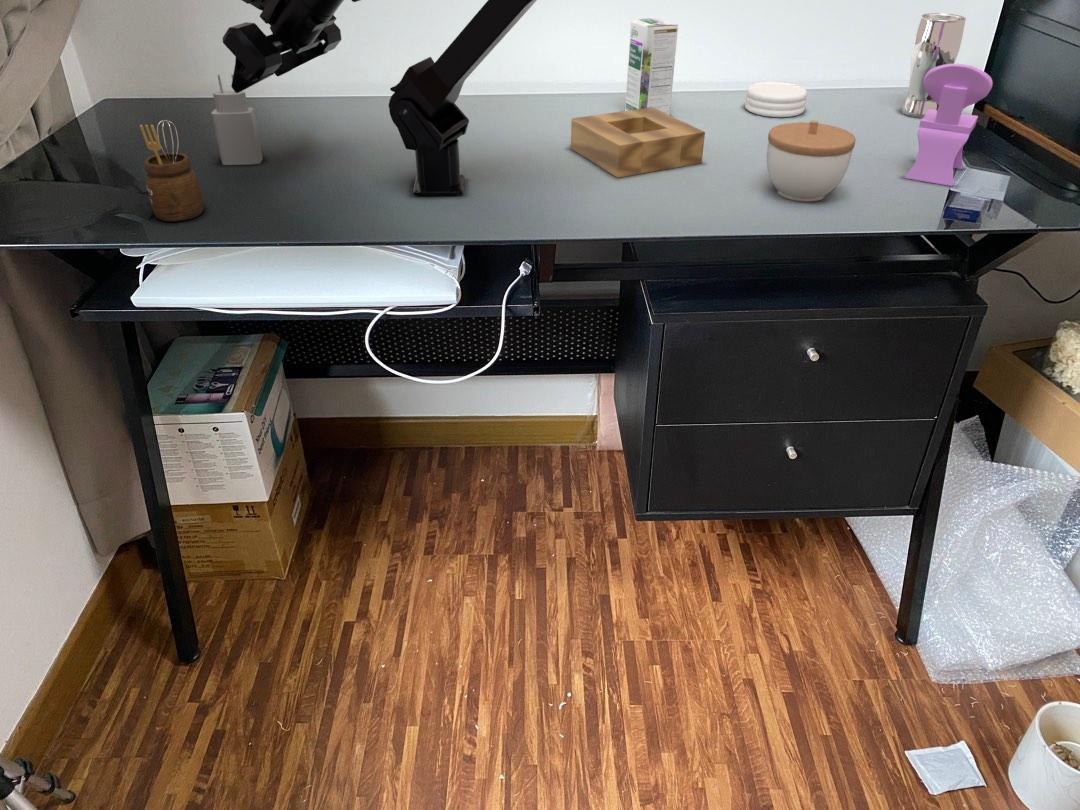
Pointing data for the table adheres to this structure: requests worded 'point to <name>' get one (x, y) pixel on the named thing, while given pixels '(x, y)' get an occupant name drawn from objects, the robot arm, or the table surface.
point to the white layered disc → (775, 99)
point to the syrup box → (651, 64)
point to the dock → (636, 141)
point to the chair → (947, 121)
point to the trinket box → (808, 159)
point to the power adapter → (235, 128)
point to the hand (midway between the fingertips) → (255, 81)
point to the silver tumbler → (931, 57)
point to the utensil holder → (171, 182)
